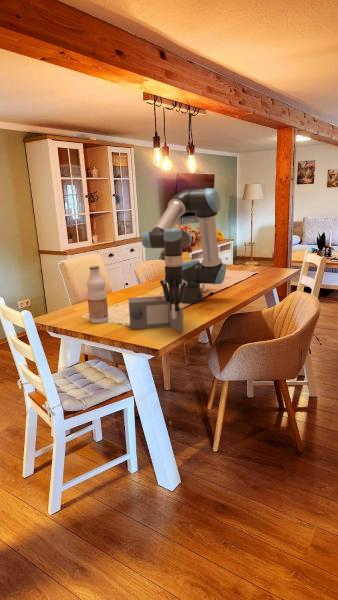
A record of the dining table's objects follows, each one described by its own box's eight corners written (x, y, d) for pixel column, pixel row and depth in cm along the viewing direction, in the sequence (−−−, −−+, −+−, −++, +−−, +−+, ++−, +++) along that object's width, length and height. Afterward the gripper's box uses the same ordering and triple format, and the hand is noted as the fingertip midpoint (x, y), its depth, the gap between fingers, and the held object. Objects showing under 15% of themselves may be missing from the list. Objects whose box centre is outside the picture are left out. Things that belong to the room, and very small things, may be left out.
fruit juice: (97, 324, 196) (92, 268, 189) (86, 321, 203) (80, 267, 196) (112, 320, 203) (107, 265, 196) (100, 317, 209) (96, 264, 202)
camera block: (168, 320, 198) (167, 293, 194) (171, 327, 188) (169, 299, 184) (130, 323, 196) (128, 296, 192) (130, 330, 186) (128, 301, 182)
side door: (168, 326, 188) (167, 301, 185) (171, 325, 189) (170, 301, 186) (180, 333, 177) (180, 307, 174) (183, 332, 178) (183, 307, 175)
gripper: (156, 265, 171) (158, 318, 177) (182, 267, 165) (184, 322, 171) (164, 263, 177) (166, 313, 183) (190, 264, 171) (191, 317, 177)
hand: (174, 317), depth 177 cm, fingers closed
